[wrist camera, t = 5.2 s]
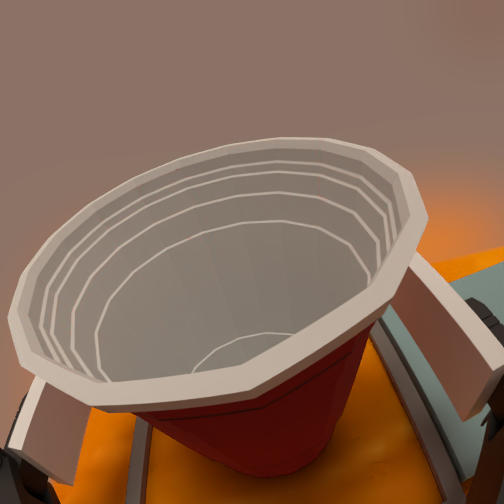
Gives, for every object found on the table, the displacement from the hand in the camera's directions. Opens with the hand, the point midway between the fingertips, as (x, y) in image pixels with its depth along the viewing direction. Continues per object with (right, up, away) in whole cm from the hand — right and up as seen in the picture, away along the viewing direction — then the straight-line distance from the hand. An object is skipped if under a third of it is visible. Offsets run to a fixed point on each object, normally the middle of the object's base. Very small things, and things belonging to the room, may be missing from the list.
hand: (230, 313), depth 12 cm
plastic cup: (+2, -6, +2) cm, 7 cm away
